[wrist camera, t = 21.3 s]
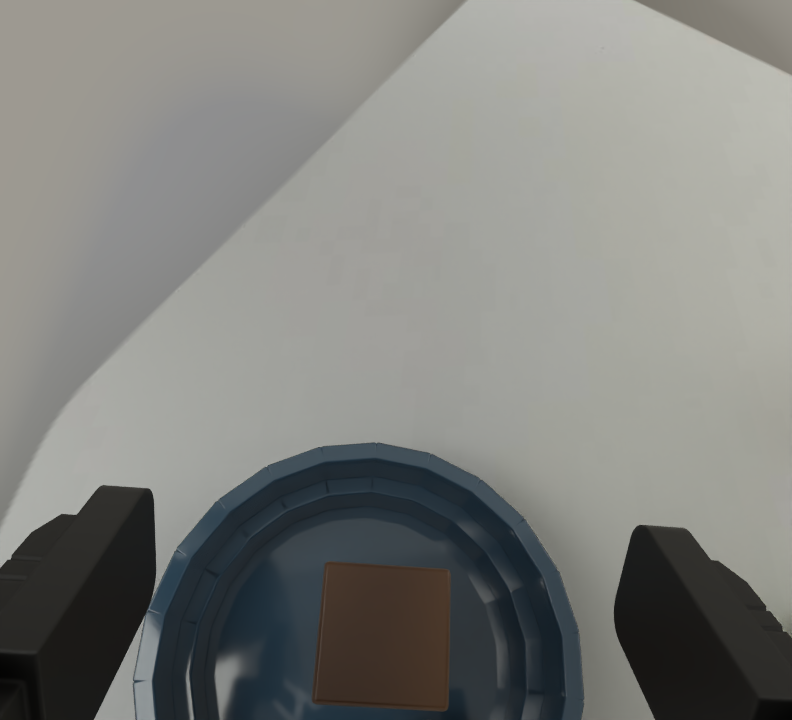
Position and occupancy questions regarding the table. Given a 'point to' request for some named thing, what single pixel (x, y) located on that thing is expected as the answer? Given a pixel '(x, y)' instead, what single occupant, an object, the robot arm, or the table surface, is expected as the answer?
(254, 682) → the bowl
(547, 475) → the table surface
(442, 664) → the stick
